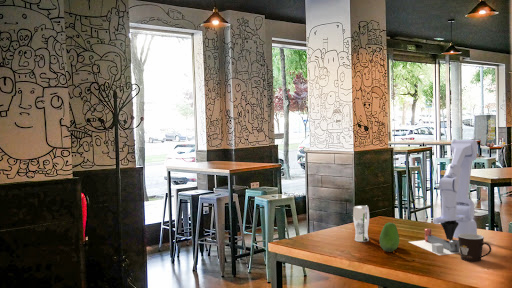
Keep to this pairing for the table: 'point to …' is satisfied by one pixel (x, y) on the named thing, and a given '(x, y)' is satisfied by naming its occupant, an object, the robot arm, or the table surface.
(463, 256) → the coffee mug
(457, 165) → the robot arm
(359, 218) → the beer glass
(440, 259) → the table surface
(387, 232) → the avocado
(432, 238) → the lever
